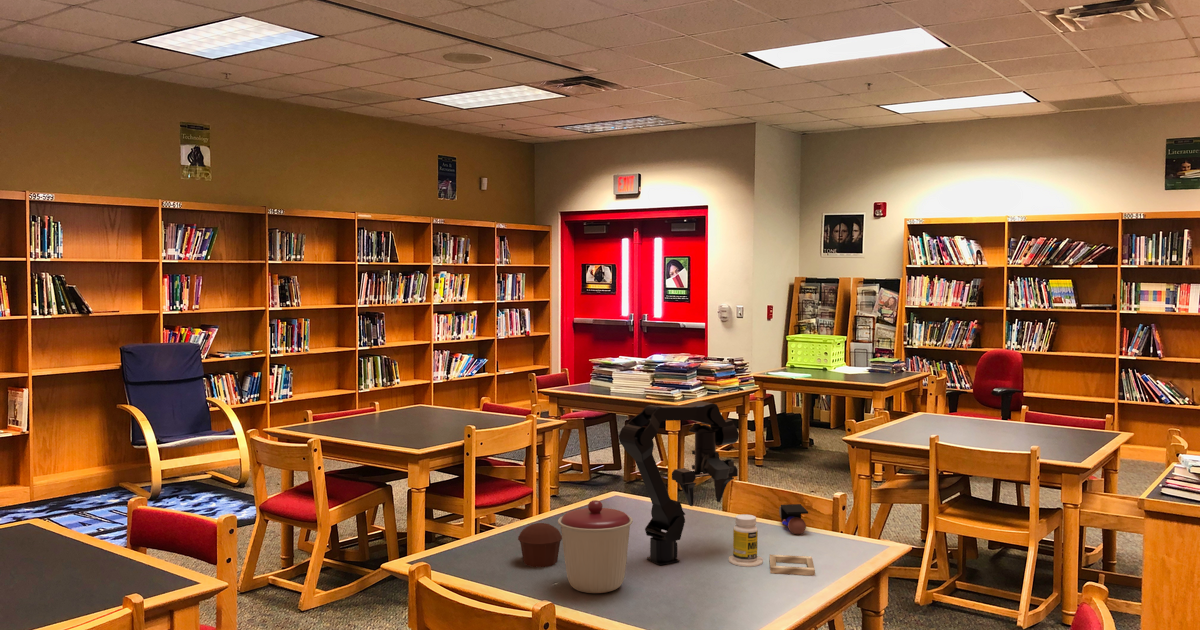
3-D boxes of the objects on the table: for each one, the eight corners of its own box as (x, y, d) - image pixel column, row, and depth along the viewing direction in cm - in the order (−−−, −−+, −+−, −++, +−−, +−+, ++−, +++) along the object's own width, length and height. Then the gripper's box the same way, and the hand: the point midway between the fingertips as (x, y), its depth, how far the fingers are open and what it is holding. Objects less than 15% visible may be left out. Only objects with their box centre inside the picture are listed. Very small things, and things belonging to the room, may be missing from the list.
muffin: (556, 554, 247) (556, 517, 246) (567, 566, 236) (567, 528, 236) (513, 558, 243) (513, 521, 243) (522, 570, 233) (522, 532, 232)
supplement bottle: (750, 564, 236) (750, 521, 236) (728, 559, 240) (728, 517, 240) (761, 558, 241) (762, 516, 241) (740, 553, 245) (740, 512, 245)
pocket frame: (770, 573, 231) (770, 567, 231) (769, 560, 242) (769, 554, 242) (814, 575, 229) (814, 569, 229) (811, 562, 240) (811, 556, 240)
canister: (583, 571, 232) (583, 489, 232) (646, 582, 223) (645, 497, 223) (544, 591, 217) (543, 504, 216) (609, 604, 208) (608, 512, 207)
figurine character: (777, 527, 280) (787, 535, 264) (776, 502, 280) (786, 509, 265) (799, 527, 280) (810, 535, 264) (798, 502, 280) (810, 509, 265)
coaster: (743, 568, 235) (743, 566, 235) (721, 559, 242) (721, 557, 242) (770, 563, 239) (770, 561, 239) (748, 554, 247) (748, 552, 247)
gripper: (694, 455, 237) (694, 514, 238) (750, 449, 247) (750, 506, 247) (670, 448, 247) (670, 505, 248) (725, 442, 256) (725, 497, 257)
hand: (704, 504), depth 250 cm, fingers open, 9 cm apart
